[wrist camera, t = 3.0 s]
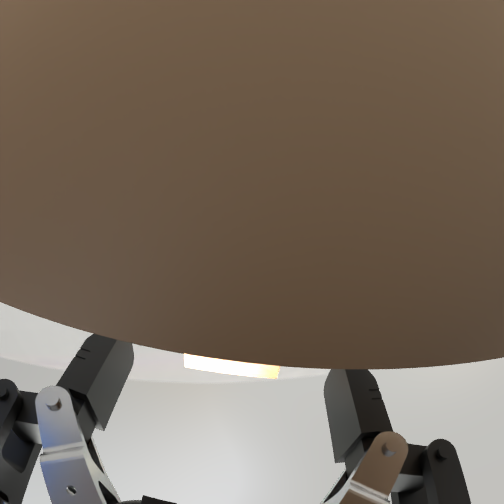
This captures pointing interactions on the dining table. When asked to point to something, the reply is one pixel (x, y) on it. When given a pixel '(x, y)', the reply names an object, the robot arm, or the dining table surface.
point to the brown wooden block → (258, 176)
